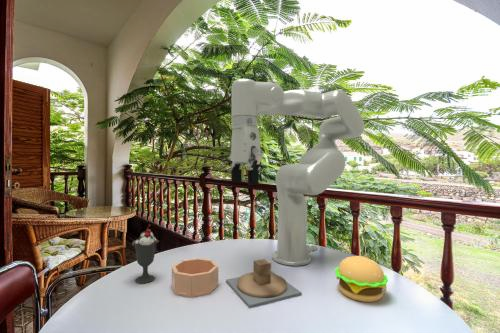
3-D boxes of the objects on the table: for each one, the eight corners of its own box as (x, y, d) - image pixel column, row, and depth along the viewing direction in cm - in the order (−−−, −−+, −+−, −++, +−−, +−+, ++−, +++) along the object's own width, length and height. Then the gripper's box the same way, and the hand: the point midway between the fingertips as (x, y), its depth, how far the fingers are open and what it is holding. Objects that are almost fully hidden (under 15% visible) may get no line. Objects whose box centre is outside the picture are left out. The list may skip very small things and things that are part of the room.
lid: (270, 272, 74) (270, 251, 74) (296, 291, 63) (297, 266, 63) (229, 280, 68) (230, 257, 68) (250, 302, 57) (251, 275, 57)
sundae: (149, 286, 65) (150, 226, 65) (125, 283, 67) (126, 225, 67) (163, 275, 72) (164, 221, 72) (141, 273, 73) (142, 219, 73)
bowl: (209, 274, 73) (209, 256, 73) (222, 291, 64) (223, 270, 64) (168, 281, 69) (169, 262, 69) (176, 300, 59) (177, 278, 59)
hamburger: (352, 308, 57) (352, 268, 57) (325, 283, 69) (326, 251, 69) (399, 303, 59) (400, 265, 59) (366, 280, 71) (367, 249, 71)
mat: (271, 273, 75) (271, 271, 75) (301, 295, 62) (301, 292, 62) (225, 281, 69) (225, 279, 69) (249, 308, 56) (249, 305, 56)
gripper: (272, 121, 69) (272, 185, 69) (241, 128, 84) (241, 181, 84) (248, 118, 65) (248, 186, 66) (220, 126, 80) (220, 182, 81)
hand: (244, 183), depth 75 cm, fingers open, 9 cm apart
